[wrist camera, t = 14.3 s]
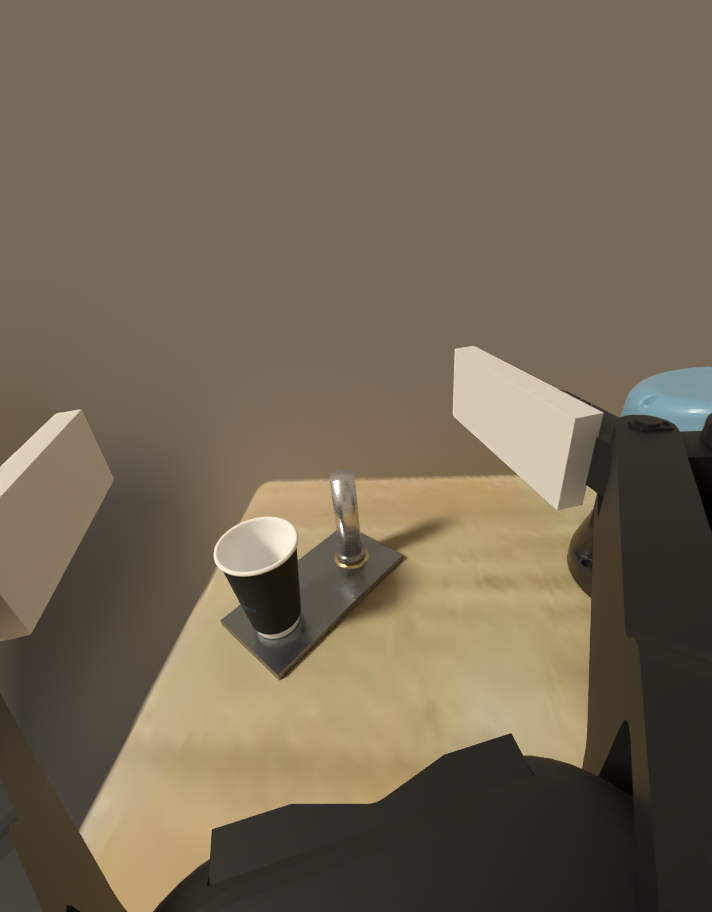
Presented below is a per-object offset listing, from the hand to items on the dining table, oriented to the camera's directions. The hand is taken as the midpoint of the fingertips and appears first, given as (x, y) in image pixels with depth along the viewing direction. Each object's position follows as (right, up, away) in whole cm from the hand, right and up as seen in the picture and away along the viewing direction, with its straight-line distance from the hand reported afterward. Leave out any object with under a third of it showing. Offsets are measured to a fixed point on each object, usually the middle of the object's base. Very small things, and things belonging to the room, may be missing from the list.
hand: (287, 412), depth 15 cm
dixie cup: (-6, -19, +29) cm, 36 cm away
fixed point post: (+2, -15, +37) cm, 40 cm away
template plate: (-2, -17, +34) cm, 38 cm away
